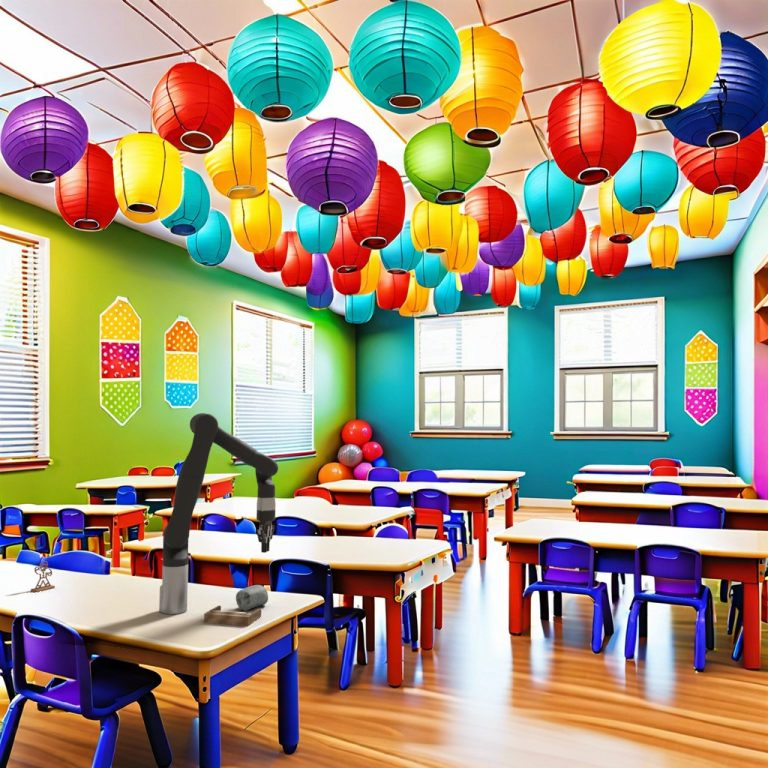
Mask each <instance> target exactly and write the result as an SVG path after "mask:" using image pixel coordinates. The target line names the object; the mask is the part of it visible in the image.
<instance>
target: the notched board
mask: <svg viewBox="0 0 768 768" xmlns="http://www.w3.org/2000/svg"><path fill="white" fill-rule="evenodd" d="M260 617H261V618H262V608H258V609H256V610H254V611H252V612H251V613H249V614H248V613H247V612H246V611H244V612H243V611H242V612H240V611H228V610H222V605H217V606H216V607H213V608H211V609H210V610H208V611H206V612H205V613H204V614H203V623H209V624H220V625H234V626H243V627H244V626H247V627H248V626H251V624H254V623H255V622H257V619H258V620H259V619H261V618H260ZM254 621H255V622H254Z"/></svg>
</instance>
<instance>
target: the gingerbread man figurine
mask: <svg viewBox="0 0 768 768" xmlns="http://www.w3.org/2000/svg"><path fill="white" fill-rule="evenodd" d="M44 562H45V563H44ZM48 566H49V564H48V561H46V560H42V561H41V562H40V563H39V566H35V567H34V573H35V574H36V575H39V579H38V581H37V583H36V585H35V587H34V588H30V592H31V593H35V592H37V593H41V592H45V591H50V590H52V589H55V588H56V586H55V585H52V584H51V583H50V581H49V579H48V577H51V576H52V575H53V570H52V569H51V568H48ZM47 569H48V570H49V572H48V571H47ZM38 571H41V573H38ZM46 571H47V572H46ZM44 579H45V580H46V582H47V583H46V582H45V580H44ZM41 580H42V581H41ZM40 582H41V583H40ZM42 585H43V586H42ZM40 591H41V592H40Z"/></svg>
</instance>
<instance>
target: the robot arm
mask: <svg viewBox="0 0 768 768" xmlns="http://www.w3.org/2000/svg"><path fill="white" fill-rule="evenodd" d="M189 428H190V431H191V432H192V433H193V438H192V443H191V447H190V450H189V452H188V453H187V455H186V458H185V459H184V461H183V462H182V465H181V466H180V471H179V473H178V476H177V481H176V486H175V493H174V498H173V499H174V500H173V508H172V511H171V515H170V518H169V521H168V523H167V524H166V526H165V527H164V529H163V533H162V534H163V535H162V537H163V538H162V541H163V542H162V579H161V581H162V582H161V585H160V586H159V607H158V610H159V611H158V612H159V613H162V614H166V615H178V614H183V613H185V612H187V611H188V588H189V537H190V530H191V524H192V518H193V513H194V509H195V508H196V505H197V502H198V500H199V496H200V493H201V489H202V486H203V482H204V479H205V474H206V470H207V464H208V460H209V457H210V453H211V452H210V451H211V449H212V447H213V444H216V445H217V446H218V447H220V448H222V450H225V451H226V452H228V453H229V454H230V455H232V456H233V457H235V458H236V459H237V460H239V461H240V462H242V463H243V464H245V465H247V466H249V467H252V468H254V470H255V480H256V485H257V496H256V497H257V498H256V516H255V518H256V521H259V527H258V528H259V529H258V528H257V529H256V531H255V532H256V536H257V541H258V543H260V544H261V545H260V548H261V549H260V551H261V553H265V554H266V553H267V552H270V545H271V544H270V542H271V540H272V539H273V535H274V531H275V525H274V524H273V521H275V520H276V484H275V483H274V482H273V479H272V477H273V476H275V475H276V474H278V471H279V464H278V463H277V462H276V460H274V459H272V457H270V456H268V455H266V454H264V453H262V452H261V451H258V450H257V449H256V448H255V447H253V446H251V445H250V444H248V443H247V442H245V441H244V440H242V439H240V438H238V437H237V436H234V435H232V434H231V433H230V432H227V431H226V430H224V429H223V428H222V427H220V426H219V422H218V420H217V418H216V416H214V414H213V415H212V414H210V413H206V412H203V413H197V414H195V415H193V416H192V417H191V419H190V421H189Z"/></svg>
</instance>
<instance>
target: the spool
mask: <svg viewBox="0 0 768 768" xmlns="http://www.w3.org/2000/svg"><path fill="white" fill-rule="evenodd" d="M268 593H269V592H268V591H267V589H266V587H265V586H263V585H261V584H254V585H251V586H247V587H245V588H243V589H240V590H239V591H237V592H236V595H235V602H236V605H237V607H238V608H239V609H240V610H242V612H243V611H244V612H246V611H247V612H248V611H249V610H251V609H254V608H259V607H262V606H264V605H266V604H267V603H268V601H269V594H268Z"/></svg>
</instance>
